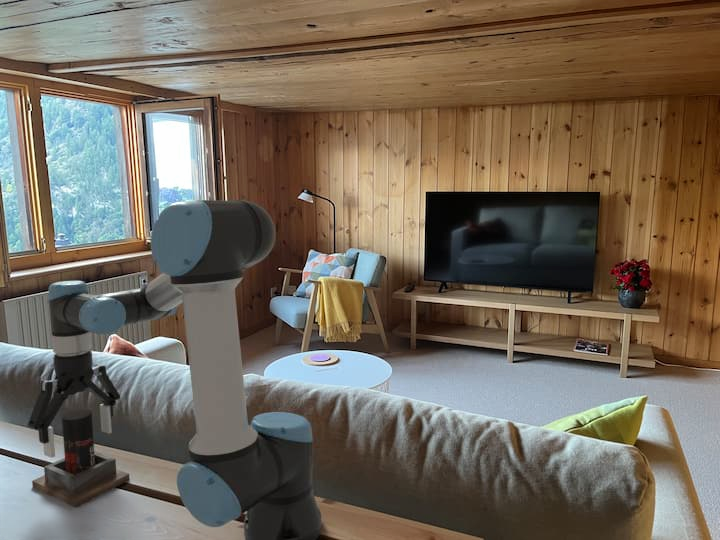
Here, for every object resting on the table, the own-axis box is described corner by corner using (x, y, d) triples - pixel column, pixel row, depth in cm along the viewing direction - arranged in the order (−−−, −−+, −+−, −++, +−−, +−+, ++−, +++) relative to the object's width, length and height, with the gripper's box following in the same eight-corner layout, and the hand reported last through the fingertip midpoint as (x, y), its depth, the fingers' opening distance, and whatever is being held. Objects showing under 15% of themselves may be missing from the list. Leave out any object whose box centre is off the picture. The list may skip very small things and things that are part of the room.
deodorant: (69, 472, 126) (64, 410, 124) (97, 469, 128) (93, 407, 126) (64, 485, 120) (59, 421, 118) (93, 481, 122) (89, 418, 120)
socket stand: (129, 479, 126) (128, 459, 125) (76, 507, 115) (74, 485, 114) (86, 462, 134) (85, 443, 133) (32, 487, 123) (30, 466, 122)
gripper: (111, 336, 132) (117, 420, 135) (3, 364, 111) (12, 462, 114) (132, 340, 129) (137, 426, 132) (24, 369, 107) (33, 471, 110)
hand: (79, 443), depth 123 cm, fingers open, 13 cm apart
